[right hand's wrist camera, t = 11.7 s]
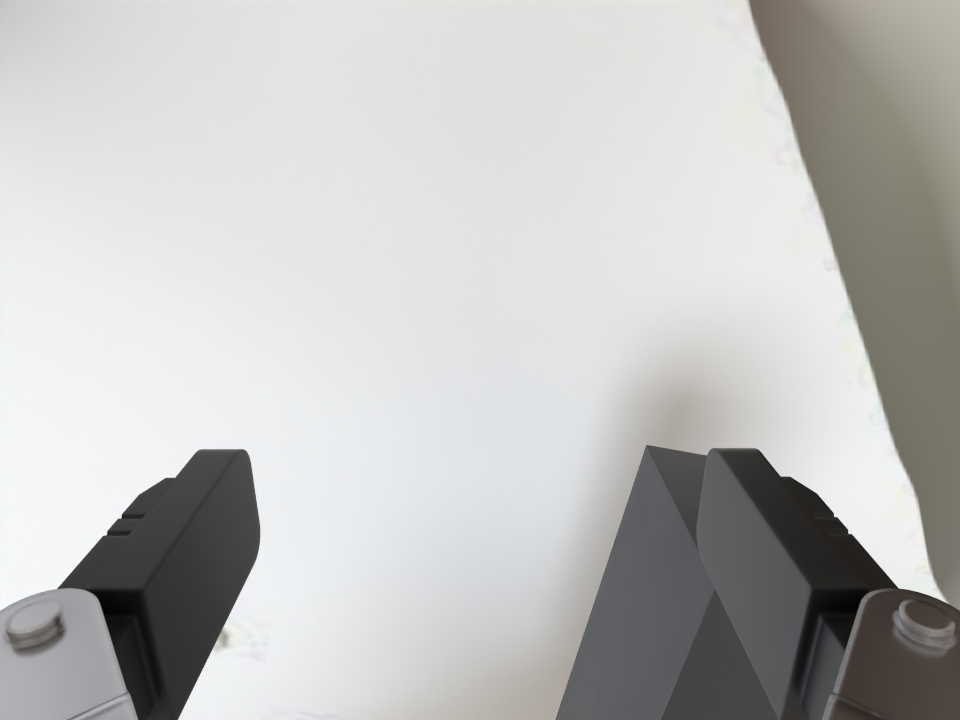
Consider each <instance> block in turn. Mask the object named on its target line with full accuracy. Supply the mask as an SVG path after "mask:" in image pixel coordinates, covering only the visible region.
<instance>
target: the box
mask: <svg viewBox="0 0 960 720" xmlns="http://www.w3.org/2000/svg"><path fill="white" fill-rule="evenodd" d="M706 458H707V456H705V455H700V454H694V453H688V452H683V451H677V450H671V449H666V448H660V447H654V446H649V445H647V446H646V449H645V452H644V455H643V458H642V461H641V464H640V467H639V470H638V473H637V476H636V479H635V482H634V485H633V488H632V491H631V494H630V497H629V500H628V503H627V506H626V509H625V512H624V515H623V518H622V521H621V524H620V527H619V530H618V533H617V536H616V539H615V542H614V545H613V548H612V551H611V554H610V557H609V560H608V563H607V566H606V569H605V572H604V575H603V578H602V581H601V584H600V587H599V590H598V593H597V596H596V599H595V602H594V605H593V608H592V611H591V614H590V617H589V620H588V623H587V626H586V629H585V632H584V635H583V638H582V641H581V645H580V648H579V651H578V654H577V657H576V660H575V663H574V666H573V669H572V672H571V675H570V678H569V681H568V684H567V687H566V690H565V693H564V696H563V699H562V702H561V705H560V708H559V711H558V714H557V717H556V720H778V718H777V716H776V713H775V711H774V709H773V707H772V705H771V703H770V701H769V699H768V697H767V695H766V693H765V691H764V689H763V687H762V685H761V682H760V680H759V678H758V676H757V674H756V672H755V670H754V668H753V666H752V664H751V662H750V660H749V658H748V656H747V654H746V651H745V649H744V647H743V645H742V643H741V641H740V639H739V637H738V635H737V633H736V631H735V629H734V627H733V625H732V623H731V621H730V618H729V616H728V614H727V612H726V610H725V608H724V606H723V604H722V602H721V600H720V598H719V596H718V594H717V592H716V590H715V587H714V585H713V583H712V581H711V579H710V577H709V575H708V573H707V571H706V569H705V567H704V565H703V563H702V560H701V558H700V554H699V550H698V545H697V519H698V512H699V505H700V498H701V491H702V484H703V477H704V470H705V463H706Z"/></svg>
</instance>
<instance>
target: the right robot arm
mask: <svg viewBox="0 0 960 720" xmlns="http://www.w3.org/2000/svg"><path fill="white" fill-rule="evenodd" d="M259 544H260V522H259V516H258V509H257V502H256V495H255V488H254V481H253V474H252V468H251V462H250V458H249V455H248V453H247V452H246V451H245V450H243V449H202V450H199V451H197V452H196V453H195V454H194V456H193V457H192V458H191V459H190V460H189V462H188V463H187V464H186V465H185V467H184V468H183V469H182V470H181V472H180V473H179V474H178V475H177V476H176V478H165V479H164V480H162V481H160V482H159V483H157V484H156V485H154V486H152V487H151V488H149V489H148V490H146V491H145V492H143V493H141V494H140V495H139V496H138V497H137V498H136V499H135V500H134V501H133V502H132V504H131V505H130V506H129V507H128V508H127V509H126V510H125V512H124V513H123V514H122V518H121V519H118V520H117V521H116V522H115V523H114V524H113V525H112V527H111V528H110V529H109V530H108V531H107V536H103V537H102V538H101V539H100V540H99V542H98V543H97V544H96V545H95V546H94V547H93V548H92V550H91V551H90V552H89V553H88V554H87V555H86V556H85V558H84V559H83V560H82V561H81V562H80V563H79V564H78V566H77V567H76V568H75V569H74V570H73V571H72V573H71V574H70V575H69V576H68V577H67V578H66V579H65V581H64V582H63V583H62V584H61V585H60V586H59V587H58V589H55V590H50V591H45V592H41V593H38V594H35V595H32V596H29V597H26V598H24V599H21V600H19V601H17V602H15V603H13V604H11V605H9V606H8V607H6V608H4V609H2V610H1V611H0V720H178V718H179V716H180V714H181V712H182V710H183V708H184V706H185V704H186V702H187V700H188V698H189V696H190V694H191V692H192V690H193V688H194V686H195V684H196V682H197V680H198V677H199V675H200V673H201V671H202V669H203V667H204V665H205V663H206V661H207V659H208V657H209V655H210V653H211V651H212V649H213V647H214V645H215V643H216V641H217V639H218V637H219V635H220V633H221V631H222V629H223V626H224V624H225V622H226V620H227V618H228V616H229V614H230V612H231V610H232V608H233V606H234V604H235V602H236V600H237V598H238V596H239V594H240V592H241V590H242V588H243V586H244V584H245V582H246V580H247V578H248V575H249V573H250V571H251V569H252V567H253V565H254V563H255V561H256V558H257V554H258V550H259ZM697 545H698V550H699V554H700V558H701V560H702V563H703V565H704V567H705V569H706V571H707V573H708V575H709V577H710V579H711V581H712V583H713V585H714V587H715V590H716V592H717V594H718V596H719V598H720V600H721V602H722V604H723V606H724V608H725V610H726V612H727V614H728V616H729V618H730V621H731V623H732V625H733V627H734V629H735V631H736V633H737V635H738V637H739V639H740V641H741V643H742V645H743V647H744V649H745V651H746V654H747V656H748V658H749V660H750V662H751V664H752V666H753V668H754V670H755V672H756V674H757V676H758V678H759V680H760V682H761V685H762V687H763V689H764V691H765V693H766V695H767V697H768V699H769V701H770V703H771V705H772V707H773V709H774V711H775V713H776V716H777V718H778V720H960V611H959V610H957V609H956V608H954V607H952V606H951V605H949V604H947V603H945V602H943V601H941V600H939V599H936V598H934V597H931V596H928V595H925V594H922V593H919V592H915V591H910V590H905V589H899V588H898V587H897V586H896V585H895V584H894V583H893V581H892V580H891V579H890V578H889V577H888V576H887V574H886V573H885V572H884V571H883V570H882V569H881V568H880V566H879V565H878V564H877V563H876V562H875V561H874V559H873V558H872V557H871V556H870V555H869V554H868V552H867V551H866V550H865V549H864V548H863V547H862V545H861V544H860V543H859V542H858V541H857V540H856V539H855V537H854V536H853V535H852V534H848V529H847V528H846V527H845V526H844V525H843V523H842V522H841V521H840V520H839V519H838V518H837V517H834V513H833V512H832V511H831V510H830V508H829V507H828V506H827V505H826V504H825V503H824V501H823V500H822V499H821V498H820V497H819V496H818V494H817V493H815V492H813V491H812V490H810V489H809V488H807V487H805V486H804V485H802V484H801V483H799V482H798V481H796V480H794V479H793V478H791V477H780V475H779V474H778V473H777V472H776V470H775V469H774V468H773V467H772V465H771V464H770V463H769V462H768V460H767V459H766V458H765V457H764V456H763V454H762V453H761V452H760V451H759V450H758V449H755V448H713V449H711V450H710V451H709V453H708V455H707V458H706V463H705V470H704V477H703V484H702V491H701V498H700V505H699V512H698V519H697Z"/></svg>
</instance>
